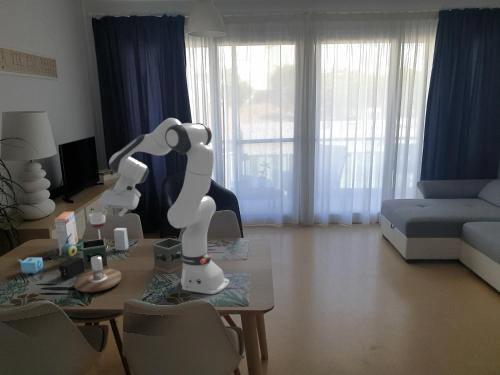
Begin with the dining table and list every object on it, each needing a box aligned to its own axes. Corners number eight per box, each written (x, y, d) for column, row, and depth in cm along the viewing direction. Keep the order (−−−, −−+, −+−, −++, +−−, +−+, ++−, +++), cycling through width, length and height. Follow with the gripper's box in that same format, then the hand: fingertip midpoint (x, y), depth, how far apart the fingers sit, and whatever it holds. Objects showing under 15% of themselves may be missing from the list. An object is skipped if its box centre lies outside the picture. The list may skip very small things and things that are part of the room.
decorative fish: (68, 264, 196) (77, 265, 194) (53, 255, 186) (63, 256, 184) (78, 242, 203) (87, 243, 201) (65, 232, 193) (74, 232, 191)
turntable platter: (131, 276, 172) (130, 273, 172) (94, 296, 155) (94, 292, 155) (102, 268, 182) (101, 265, 182) (64, 285, 165) (64, 282, 165)
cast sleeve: (105, 277, 169) (103, 256, 167) (97, 281, 165) (95, 260, 163) (99, 275, 171) (96, 254, 169) (91, 279, 168) (88, 258, 165)
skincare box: (128, 247, 212) (126, 227, 209) (125, 250, 208) (123, 230, 205) (118, 247, 213) (116, 227, 210) (115, 250, 209) (113, 230, 206)
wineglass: (105, 250, 209) (101, 216, 205) (90, 250, 209) (86, 216, 205) (111, 244, 217) (107, 212, 213) (96, 244, 217) (92, 212, 213)
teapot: (15, 275, 180) (13, 260, 178) (23, 269, 186) (20, 255, 184) (39, 274, 180) (37, 260, 178) (46, 269, 186) (44, 255, 184)
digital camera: (76, 269, 185) (74, 256, 184) (84, 270, 183) (83, 257, 182) (59, 278, 176) (57, 264, 174) (68, 280, 174) (66, 266, 172)
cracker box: (68, 245, 217) (63, 211, 212) (78, 245, 217) (74, 211, 213) (58, 255, 203) (53, 218, 198) (70, 254, 204) (65, 218, 199)
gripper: (102, 185, 182) (90, 210, 175) (137, 188, 175) (126, 213, 168) (109, 192, 187) (98, 216, 180) (143, 194, 180) (133, 220, 173)
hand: (111, 215), depth 174 cm, fingers open, 8 cm apart
